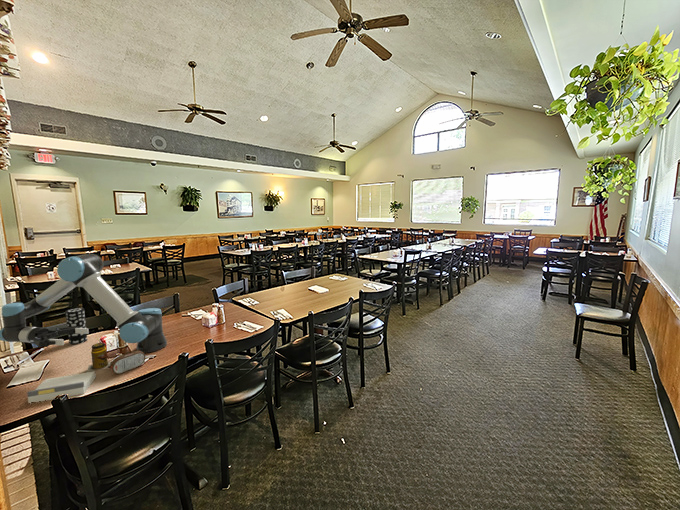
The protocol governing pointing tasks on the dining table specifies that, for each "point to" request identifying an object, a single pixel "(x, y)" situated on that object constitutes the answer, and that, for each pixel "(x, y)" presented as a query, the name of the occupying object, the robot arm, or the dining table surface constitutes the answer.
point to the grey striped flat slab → (61, 387)
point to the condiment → (98, 357)
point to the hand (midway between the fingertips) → (76, 336)
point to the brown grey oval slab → (127, 362)
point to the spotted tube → (76, 319)
